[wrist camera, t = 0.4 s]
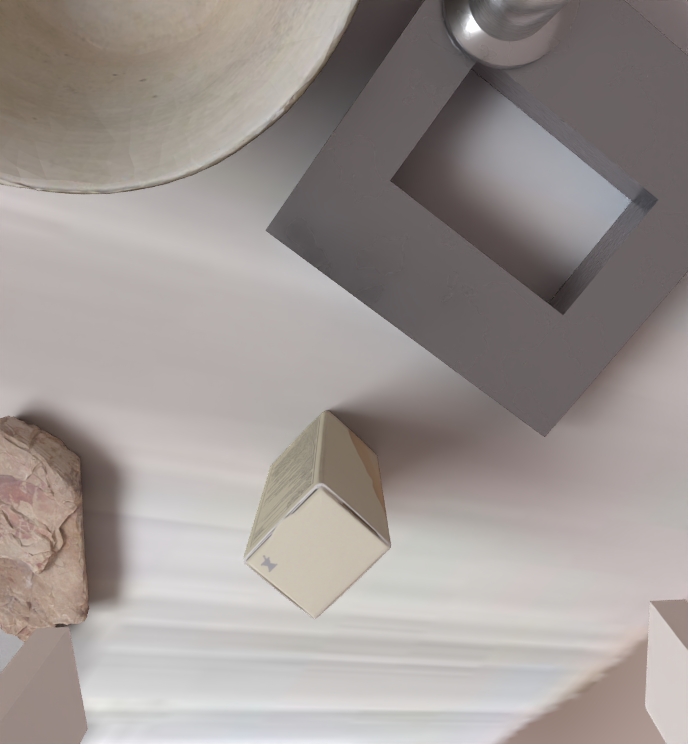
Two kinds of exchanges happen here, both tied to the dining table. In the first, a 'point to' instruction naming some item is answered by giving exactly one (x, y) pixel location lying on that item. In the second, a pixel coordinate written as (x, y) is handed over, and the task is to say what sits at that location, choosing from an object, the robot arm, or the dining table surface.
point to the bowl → (149, 84)
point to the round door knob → (508, 29)
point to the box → (319, 517)
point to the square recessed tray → (467, 263)
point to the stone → (40, 531)
